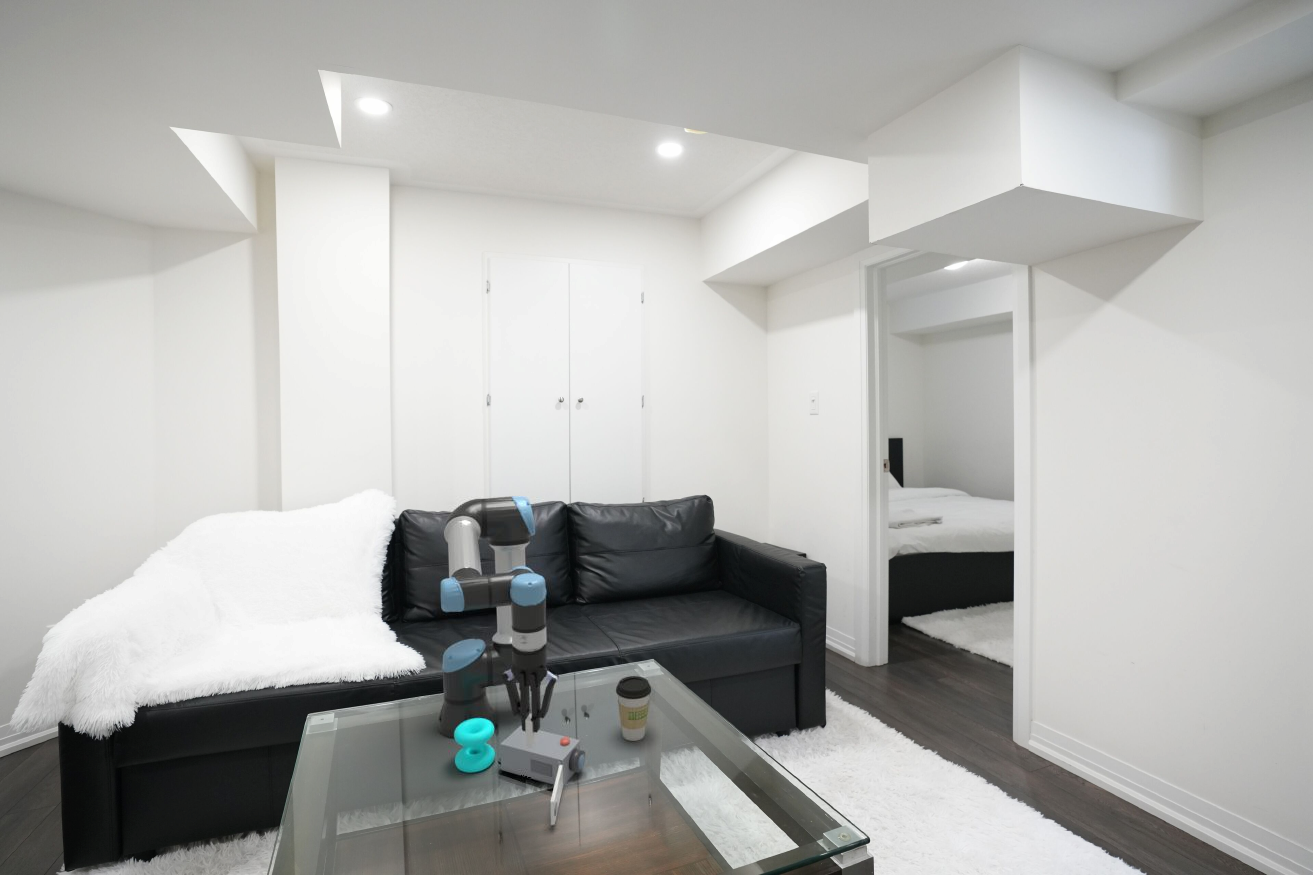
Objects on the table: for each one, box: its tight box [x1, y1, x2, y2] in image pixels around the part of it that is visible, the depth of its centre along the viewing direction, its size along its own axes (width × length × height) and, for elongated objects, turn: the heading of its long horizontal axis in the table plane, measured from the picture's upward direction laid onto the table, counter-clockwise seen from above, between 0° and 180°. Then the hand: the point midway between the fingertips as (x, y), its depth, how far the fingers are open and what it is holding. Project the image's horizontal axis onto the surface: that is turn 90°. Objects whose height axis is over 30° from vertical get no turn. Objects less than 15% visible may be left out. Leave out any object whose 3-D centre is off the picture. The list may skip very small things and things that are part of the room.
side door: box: [550, 761, 564, 826], centre depth 148 cm, size 14×2×6 cm, turn 0°
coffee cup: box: [615, 675, 652, 742], centre depth 177 cm, size 10×10×15 cm
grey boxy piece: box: [499, 725, 586, 787], centre depth 162 cm, size 20×9×8 cm, turn 68°
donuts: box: [453, 718, 496, 773], centre depth 164 cm, size 10×10×10 cm
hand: (531, 743), depth 144 cm, fingers closed
